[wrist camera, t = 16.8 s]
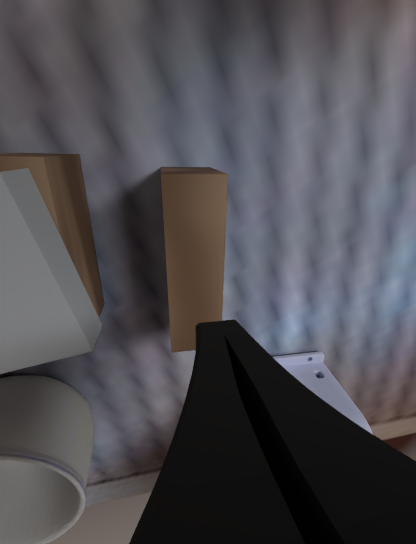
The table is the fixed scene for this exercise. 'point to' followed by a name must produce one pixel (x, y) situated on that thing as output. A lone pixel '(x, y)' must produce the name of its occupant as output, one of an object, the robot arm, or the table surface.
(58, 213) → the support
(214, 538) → the robot arm
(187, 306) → the block
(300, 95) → the table surface
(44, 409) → the teacup
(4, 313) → the slab
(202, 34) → the table surface
